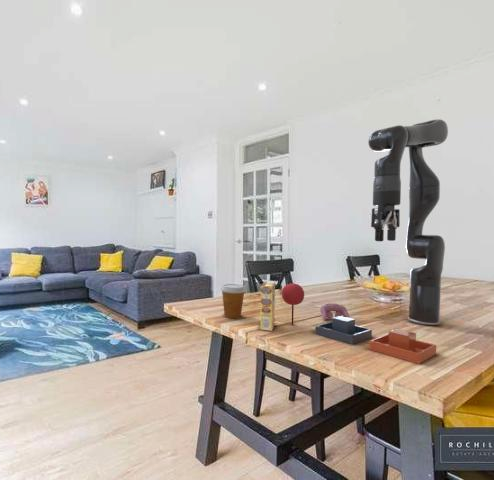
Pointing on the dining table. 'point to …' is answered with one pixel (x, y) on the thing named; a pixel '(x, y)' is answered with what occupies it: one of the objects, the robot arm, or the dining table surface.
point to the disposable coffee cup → (233, 299)
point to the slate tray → (359, 334)
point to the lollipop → (293, 295)
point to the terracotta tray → (417, 356)
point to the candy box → (267, 306)
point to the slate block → (343, 325)
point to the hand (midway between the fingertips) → (385, 240)
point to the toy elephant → (337, 308)
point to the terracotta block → (402, 339)
